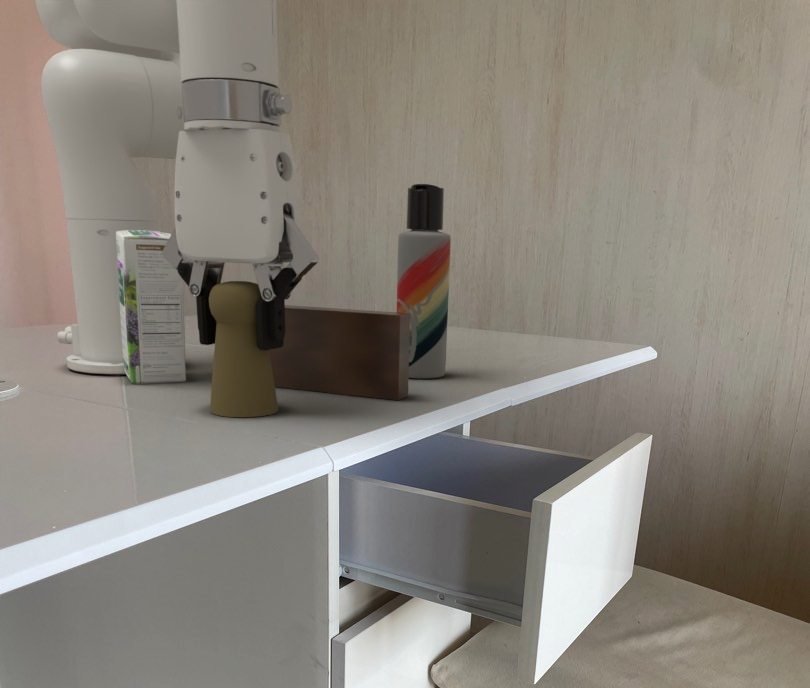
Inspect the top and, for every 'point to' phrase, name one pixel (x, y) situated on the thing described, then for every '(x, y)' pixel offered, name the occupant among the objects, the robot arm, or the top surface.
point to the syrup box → (150, 309)
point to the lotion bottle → (425, 280)
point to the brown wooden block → (344, 352)
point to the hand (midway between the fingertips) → (241, 343)
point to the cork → (239, 354)
